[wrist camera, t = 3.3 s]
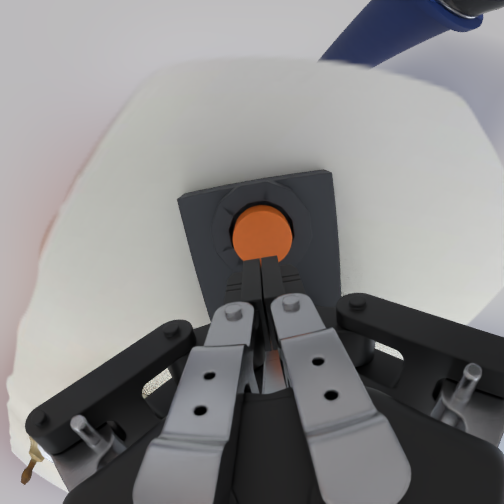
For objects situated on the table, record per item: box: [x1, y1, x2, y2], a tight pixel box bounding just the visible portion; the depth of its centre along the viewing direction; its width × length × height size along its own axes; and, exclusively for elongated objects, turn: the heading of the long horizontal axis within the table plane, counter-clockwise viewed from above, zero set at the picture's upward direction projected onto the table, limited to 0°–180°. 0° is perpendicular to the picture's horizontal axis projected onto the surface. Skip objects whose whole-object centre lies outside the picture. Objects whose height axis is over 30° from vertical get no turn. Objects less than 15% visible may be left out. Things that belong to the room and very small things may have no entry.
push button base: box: [177, 170, 341, 322], centre depth 22 cm, size 17×11×4 cm, turn 10°
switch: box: [233, 205, 292, 263], centre depth 18 cm, size 4×4×2 cm
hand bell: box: [21, 437, 44, 485], centre depth 37 cm, size 8×8×16 cm
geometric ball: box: [38, 444, 54, 463], centre depth 36 cm, size 8×8×8 cm
